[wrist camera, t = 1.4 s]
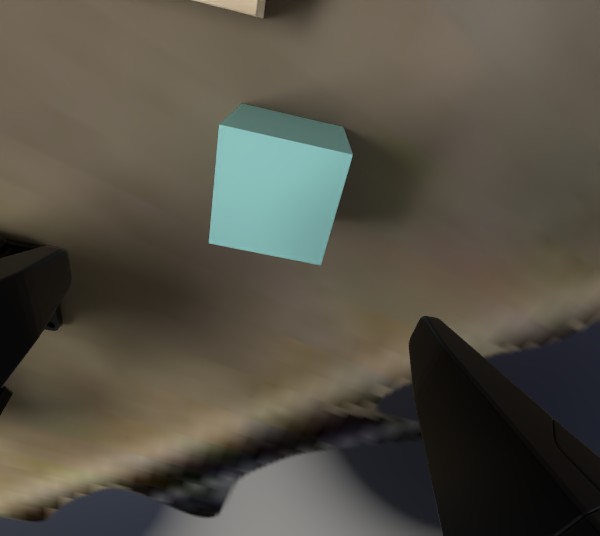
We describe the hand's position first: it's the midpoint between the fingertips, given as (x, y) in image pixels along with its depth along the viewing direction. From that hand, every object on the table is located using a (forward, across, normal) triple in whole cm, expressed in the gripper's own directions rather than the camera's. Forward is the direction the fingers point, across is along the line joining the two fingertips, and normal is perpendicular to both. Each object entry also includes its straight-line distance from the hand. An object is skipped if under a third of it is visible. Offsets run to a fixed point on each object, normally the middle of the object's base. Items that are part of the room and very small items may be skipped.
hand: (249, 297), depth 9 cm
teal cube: (+11, 0, 0) cm, 11 cm away
